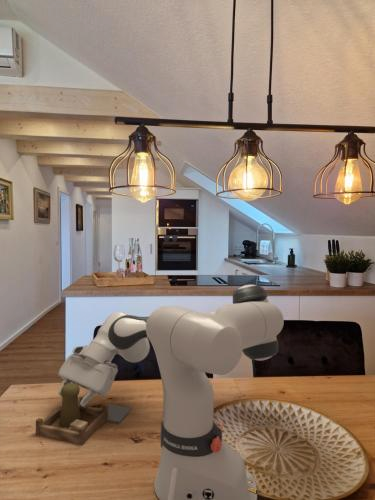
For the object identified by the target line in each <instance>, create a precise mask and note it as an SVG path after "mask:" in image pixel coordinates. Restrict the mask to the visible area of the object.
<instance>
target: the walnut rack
mask: <svg viewBox="0 0 375 500" xmlns="http://www.w3.org/2000/svg"><path fill="white" fill-rule="evenodd" d="M79 411H80V416H83V417H89V418H93V419H94V420H93V421H92V422H90V423H89V425H88V426H87V428H86V427H81V428H80V429H79V432H77V431H73V430H69V428H63V427H57V426H53V424H55V423H56V422H57V421H58V420H60V413H61V406H60V407H58V408H56V409H55V410H54V411H53V412H52V413H51V414H50V415H48V416H46V417H45V418H44V419H43V418H39V417H38V418H37V419H36V420H35V435H37V436H40V437H46V438H50V439H55V440H60V441H65V442H68V443H69V442H70V443H74V444H79V445H80V446H81V445H82V446H84V444H86V442H87V441H88V440H89V439H90V437H91V436H92V435H94V434H95V432H96V431H97V430H98V429H99V428H100V427H101V426H102V425H103V424H104V422H106V421H105V418H107V417H108V404H103V405H102V408H99V407H92V406H87V405H85V407H83V406H81V405H79ZM96 416H98V417H97V418H96V419H95V417H96Z"/></svg>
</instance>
